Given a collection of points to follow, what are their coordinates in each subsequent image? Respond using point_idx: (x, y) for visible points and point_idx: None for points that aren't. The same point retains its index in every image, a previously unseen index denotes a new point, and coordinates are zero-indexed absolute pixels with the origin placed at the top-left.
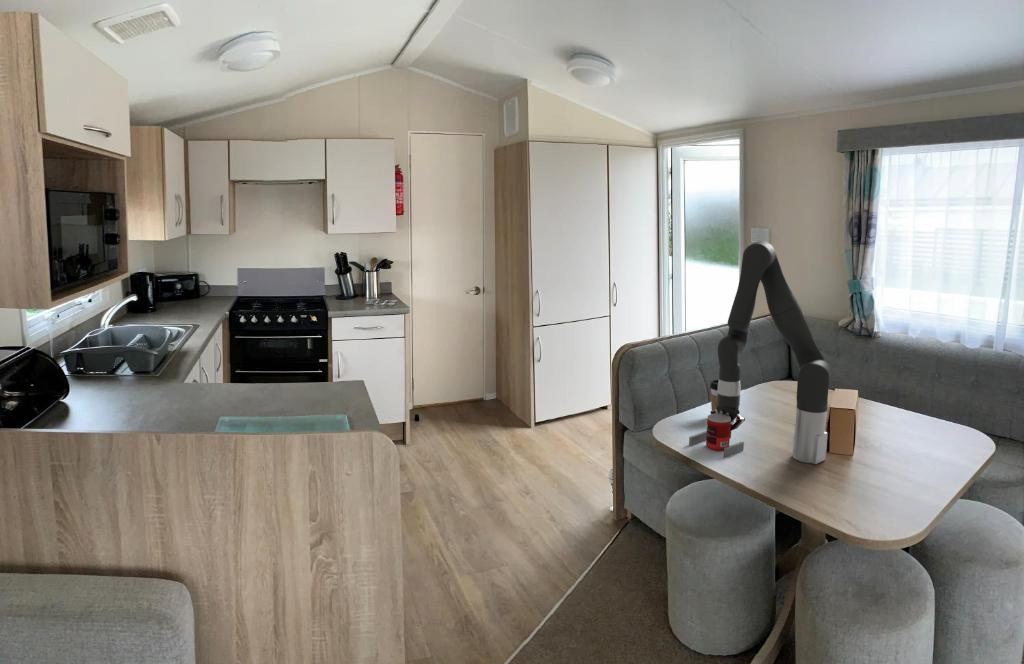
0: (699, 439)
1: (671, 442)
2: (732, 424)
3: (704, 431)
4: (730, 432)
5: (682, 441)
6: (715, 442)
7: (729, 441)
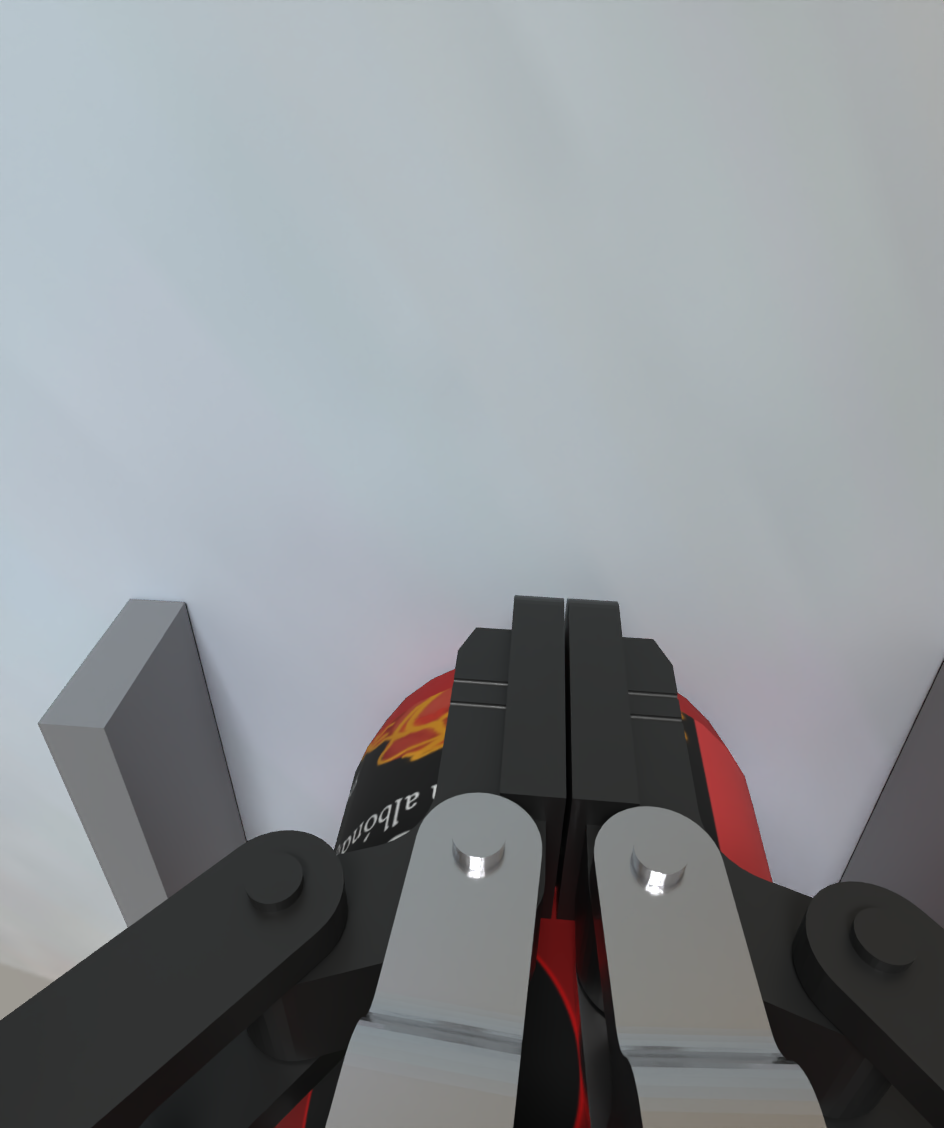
0: (214, 849)
1: (45, 947)
2: (765, 1040)
3: (71, 785)
4: (683, 802)
5: (72, 872)
6: None
7: (766, 863)
